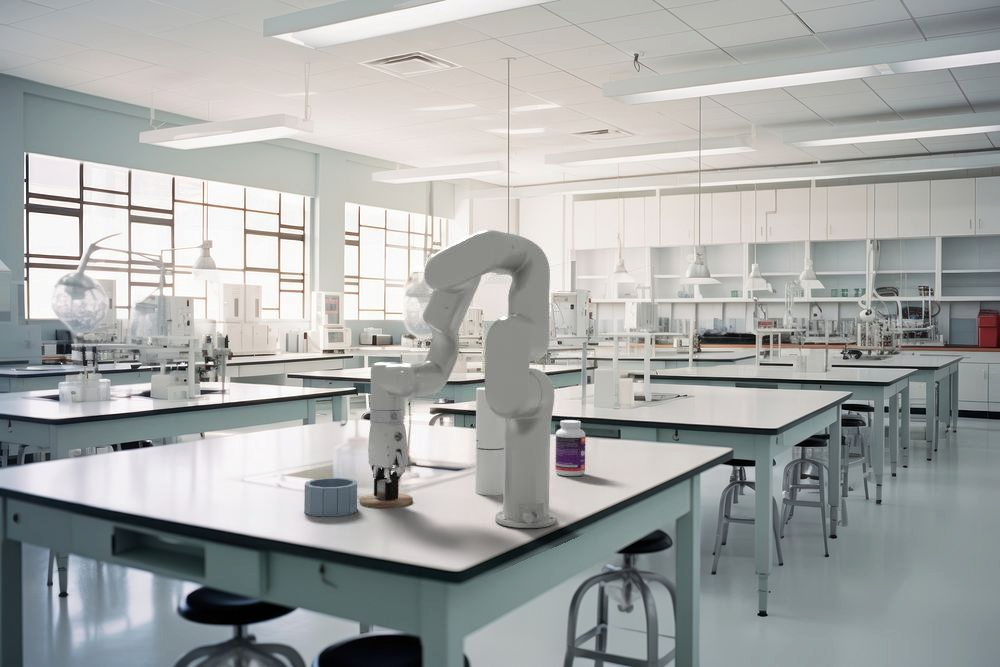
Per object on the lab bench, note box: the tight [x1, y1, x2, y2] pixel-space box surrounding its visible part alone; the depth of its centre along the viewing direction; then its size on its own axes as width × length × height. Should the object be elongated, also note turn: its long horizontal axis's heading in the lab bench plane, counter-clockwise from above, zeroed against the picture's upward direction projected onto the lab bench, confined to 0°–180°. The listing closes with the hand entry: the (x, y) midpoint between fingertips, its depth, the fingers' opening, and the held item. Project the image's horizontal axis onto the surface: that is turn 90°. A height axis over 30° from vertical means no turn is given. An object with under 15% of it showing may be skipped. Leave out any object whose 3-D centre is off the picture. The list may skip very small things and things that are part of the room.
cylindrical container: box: [474, 386, 507, 496], centre depth 198 cm, size 7×7×25 cm
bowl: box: [303, 477, 358, 518], centre depth 177 cm, size 11×11×6 cm
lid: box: [358, 479, 414, 509], centre depth 186 cm, size 12×12×5 cm
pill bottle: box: [554, 419, 586, 477], centre depth 222 cm, size 8×8×14 cm
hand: (386, 496), depth 186 cm, fingers closed on lid, 4 cm apart
